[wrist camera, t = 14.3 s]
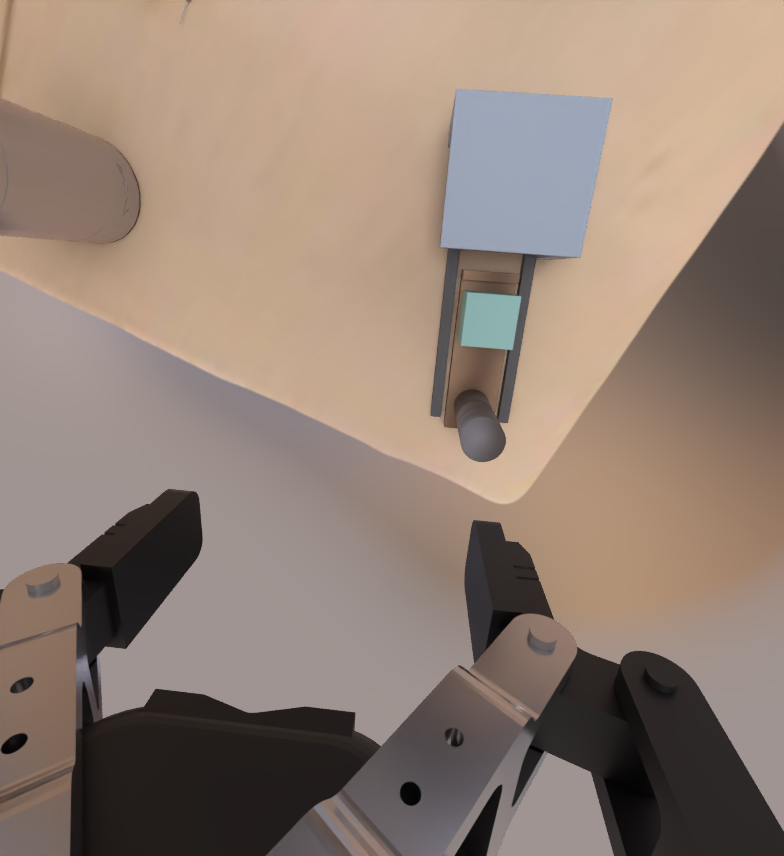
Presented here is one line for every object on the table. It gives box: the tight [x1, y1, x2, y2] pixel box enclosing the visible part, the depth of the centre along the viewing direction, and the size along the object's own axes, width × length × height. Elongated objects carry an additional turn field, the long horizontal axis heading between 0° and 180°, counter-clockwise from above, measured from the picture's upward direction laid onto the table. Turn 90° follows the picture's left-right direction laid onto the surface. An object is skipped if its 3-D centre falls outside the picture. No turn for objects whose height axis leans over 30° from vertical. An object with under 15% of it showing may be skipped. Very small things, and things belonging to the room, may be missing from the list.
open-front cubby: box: [440, 89, 613, 260], centre depth 36 cm, size 10×10×9 cm
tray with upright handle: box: [444, 270, 520, 462], centre depth 39 cm, size 5×16×11 cm, turn 176°
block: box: [457, 290, 521, 350], centre depth 40 cm, size 4×4×4 cm
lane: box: [431, 248, 537, 423], centre depth 42 cm, size 8×24×1 cm, turn 176°
